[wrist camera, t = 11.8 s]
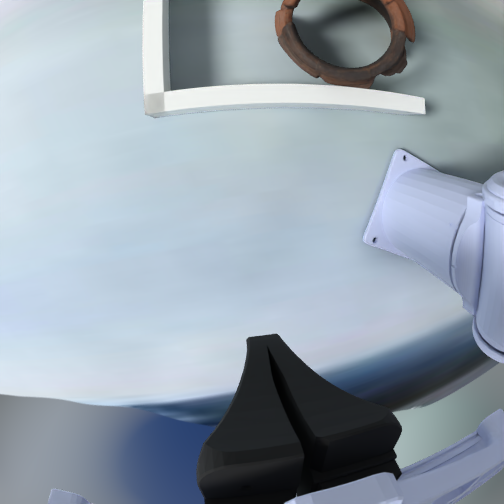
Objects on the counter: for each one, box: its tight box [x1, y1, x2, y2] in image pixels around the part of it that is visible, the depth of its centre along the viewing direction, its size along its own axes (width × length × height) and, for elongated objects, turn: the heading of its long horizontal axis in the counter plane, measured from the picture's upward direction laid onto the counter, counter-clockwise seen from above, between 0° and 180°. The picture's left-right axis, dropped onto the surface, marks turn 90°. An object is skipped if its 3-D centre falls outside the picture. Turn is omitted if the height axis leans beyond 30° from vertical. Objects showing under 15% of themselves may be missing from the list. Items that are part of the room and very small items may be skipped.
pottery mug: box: [275, 0, 415, 89], centre depth 14 cm, size 12×9×8 cm
